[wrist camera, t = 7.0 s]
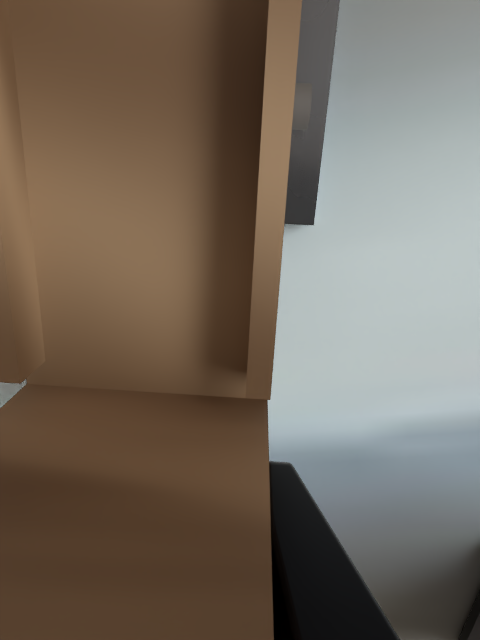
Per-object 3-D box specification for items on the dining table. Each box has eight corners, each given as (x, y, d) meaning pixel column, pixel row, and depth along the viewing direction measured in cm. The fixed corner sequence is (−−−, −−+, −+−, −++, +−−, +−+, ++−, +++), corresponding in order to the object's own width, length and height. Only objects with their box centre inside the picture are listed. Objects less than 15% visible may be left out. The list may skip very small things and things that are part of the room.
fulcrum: (311, 221, 11) (323, 248, 9) (54, 207, 11) (5, 230, 9) (340, -33, 9) (364, -76, 7) (19, -46, 9) (-56, -91, 7)
